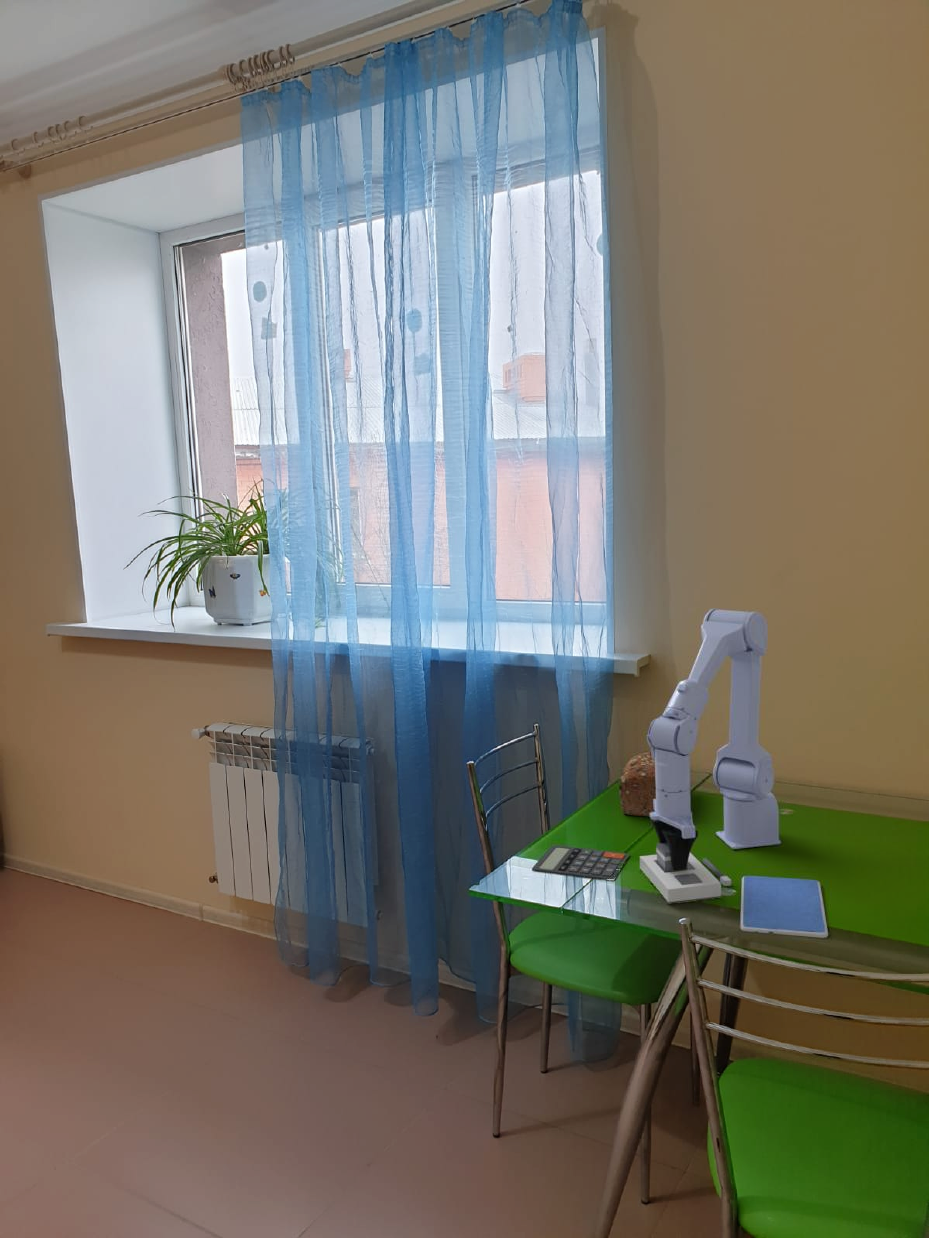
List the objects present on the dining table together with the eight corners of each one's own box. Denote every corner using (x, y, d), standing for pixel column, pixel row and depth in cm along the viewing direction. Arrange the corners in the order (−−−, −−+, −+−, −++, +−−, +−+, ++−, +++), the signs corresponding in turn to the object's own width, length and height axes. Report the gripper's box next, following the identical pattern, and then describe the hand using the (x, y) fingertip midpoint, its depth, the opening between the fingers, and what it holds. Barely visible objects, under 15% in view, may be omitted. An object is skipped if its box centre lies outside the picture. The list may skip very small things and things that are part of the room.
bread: (669, 820, 192) (668, 772, 191) (617, 815, 196) (615, 768, 195) (682, 790, 210) (681, 746, 208) (634, 787, 213) (633, 743, 212)
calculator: (613, 878, 165) (531, 867, 171) (613, 883, 165) (531, 872, 171) (630, 852, 175) (552, 843, 182) (630, 857, 176) (552, 848, 182)
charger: (679, 868, 167) (678, 841, 166) (688, 878, 163) (687, 850, 162) (656, 870, 166) (656, 843, 165) (665, 880, 162) (664, 852, 161)
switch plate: (688, 864, 170) (688, 850, 169) (721, 898, 156) (721, 882, 156) (640, 870, 169) (639, 855, 168) (668, 904, 155) (668, 888, 155)
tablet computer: (828, 941, 142) (828, 933, 141) (740, 934, 145) (739, 926, 145) (820, 886, 160) (819, 879, 160) (741, 881, 163) (741, 874, 163)
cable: (707, 861, 171) (707, 856, 171) (731, 885, 161) (731, 880, 161) (700, 862, 171) (700, 857, 171) (724, 885, 161) (724, 880, 160)
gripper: (636, 776, 169) (638, 850, 171) (665, 803, 154) (667, 883, 156) (674, 772, 169) (676, 845, 171) (706, 799, 155) (708, 878, 157)
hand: (674, 863), depth 164 cm, fingers closed on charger, 4 cm apart
